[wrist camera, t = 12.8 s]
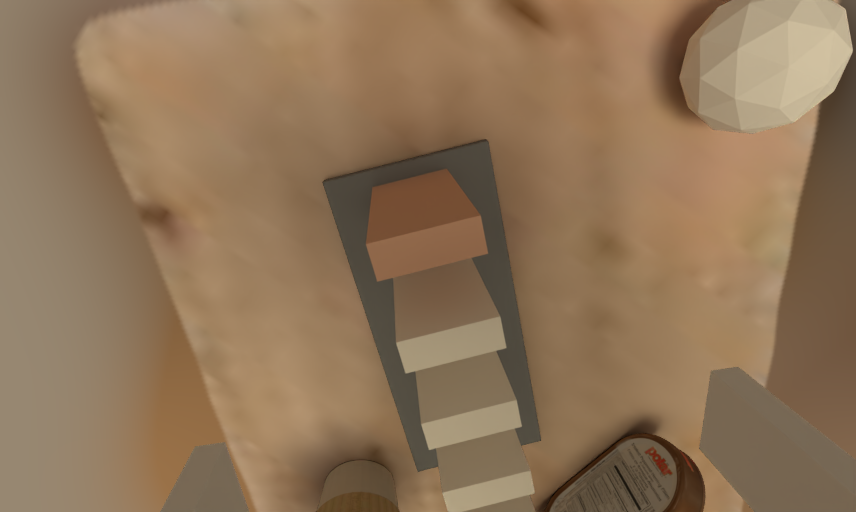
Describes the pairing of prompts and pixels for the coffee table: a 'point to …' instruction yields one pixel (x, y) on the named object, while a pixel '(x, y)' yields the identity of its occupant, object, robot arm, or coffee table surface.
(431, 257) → the domino
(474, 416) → the domino
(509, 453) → the domino
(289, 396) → the coffee table surface
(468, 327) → the domino
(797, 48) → the geometric ball
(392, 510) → the coffee cup
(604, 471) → the tin
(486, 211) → the mat
